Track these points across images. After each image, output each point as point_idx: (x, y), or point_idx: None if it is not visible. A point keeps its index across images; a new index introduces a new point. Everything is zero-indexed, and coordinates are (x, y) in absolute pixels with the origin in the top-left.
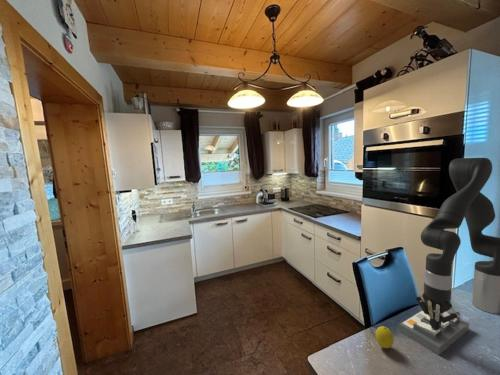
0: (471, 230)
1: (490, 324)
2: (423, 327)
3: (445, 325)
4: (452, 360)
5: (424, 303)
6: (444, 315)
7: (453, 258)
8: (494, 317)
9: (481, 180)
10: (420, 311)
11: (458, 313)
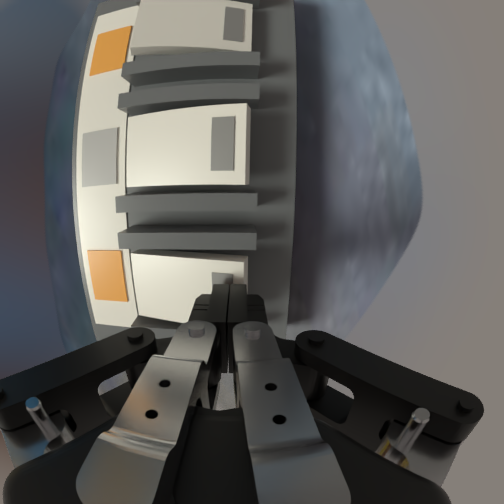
0: None
1: None
2: (176, 320)
3: (247, 164)
4: (322, 305)
5: (78, 406)
6: (190, 38)
7: None
8: None
9: None
10: (78, 105)
11: (474, 426)
